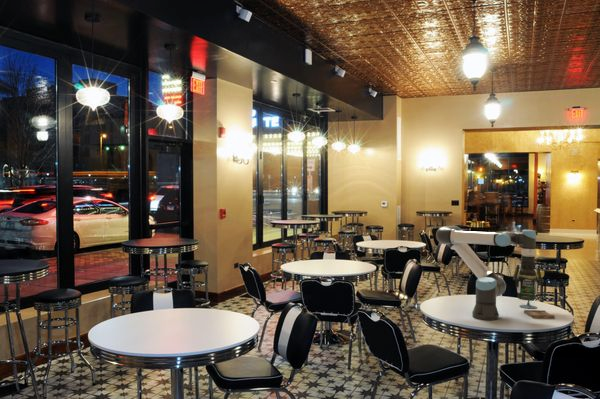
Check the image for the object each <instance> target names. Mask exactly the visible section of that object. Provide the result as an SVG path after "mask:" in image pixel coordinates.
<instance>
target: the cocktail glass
mask: <svg viewBox="0 0 600 399" xmlns="http://www.w3.org/2000/svg"><path fill="white" fill-rule="evenodd" d="M521 268H522V267H520V268H519V272H520V269H521ZM515 269H516V267H515V268H514V273H515ZM534 270H535V271H536V268H535V267H534ZM519 272H518V275H519ZM540 272H541V277H542V278H543V277H544V276H545V270H544V269H542V268H540ZM536 276H537V278H538V275H537V271H536ZM517 277H518V276H517ZM519 308H523V309H525V310H537V309H538V307H537V306H535V305H532V304H530V301H528V300H527V303H526V304H519Z"/></svg>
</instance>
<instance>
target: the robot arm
mask: <svg viewBox="0 0 600 399" xmlns="http://www.w3.org/2000/svg"><path fill="white" fill-rule="evenodd" d="M435 233H436V234H435V238H436V240H437V242H439V244H442V245H447V246H448V247H449V248H450V250H454V251H455V253H457V254H458V256H459V257H460V258H461V259H462V261H463V262H464V263H465V264H466V265H467V267H468V269H470V270H471V271H472V273H473V274H474V275H475V277H476V278H477V279H476V280H475V304H474V306H473V310H472V314H471V315H472V317H473V318H475V319H478V320H484V321H496V320H499V319H500V314H499V310H498V307H497V297H500V296H501V295H503V294H505V292H506V288H507V283H506V282H505V280H504V279H503V278H502V277H501V276H498V275H497V274H496V272H494V271H491V270H489V268H488V267H487V266H486V265H485V264H484V262H483V261H482V260H481V259H480V258H479V256H478V255H477V254H476V252H474V250H473V249H472V248H471V247H470V244H471V245H472V244H473V245H487V246H488V245H489V246H499V247H507V246H511V245H515V246H517V245H518V246H521V257H520V258H521V260H520V262H521V263H520V264H518V263H516V264H515V268H516V269H515V268H514V270H515V273H514V274H513V276H512V280H513V281H515V287H516V292H517V294H518V293H520V279H521V277H520V276H519V275H518V272H519V268H522V269H524V270H523V271H525V270H528V269H531V270H534V268H536V271H537V275H538V278H537V276H536V279H535V295H536V294H538V288H539V286H540V284H539V283H541V282H543V277H541V272H540V269H541V265H539V264H536V243H537V242H536V241H537V236H536V234H537V233H536V230H534V229H533V230H532V229H522V230H521V232H515V231H514V232H513V231H502V232H490V231H489V232H487V231H466V230H462V228H460V227H458V226H457V225H447V226H442V227H439V228H438V229H437V231H436V232H435ZM517 276H518V277H517Z"/></svg>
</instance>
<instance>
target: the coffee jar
mask: <svg viewBox="0 0 600 399" xmlns="http://www.w3.org/2000/svg"><path fill="white" fill-rule="evenodd" d="M520 268H521V269H520V272H519V276H520V277H521V279H520V281H519V282H520V293H518V292H517V299H518V300H522V301H527V302H528V301H529V302H533V301H535V300H536V293H535V282H536V281H535V279H536V271H535V270H531V269H528V270H525V271H523V270H524V269H522V267H520Z"/></svg>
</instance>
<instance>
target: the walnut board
mask: <svg viewBox="0 0 600 399" xmlns="http://www.w3.org/2000/svg"><path fill="white" fill-rule="evenodd" d="M523 313H524V314H525V315H527V316H528V317H531V318H532V319H556V318H555V315H554V314H550V313H549V312H547V311H546V310H540V309H539V310H537V309H524V310H523Z"/></svg>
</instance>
